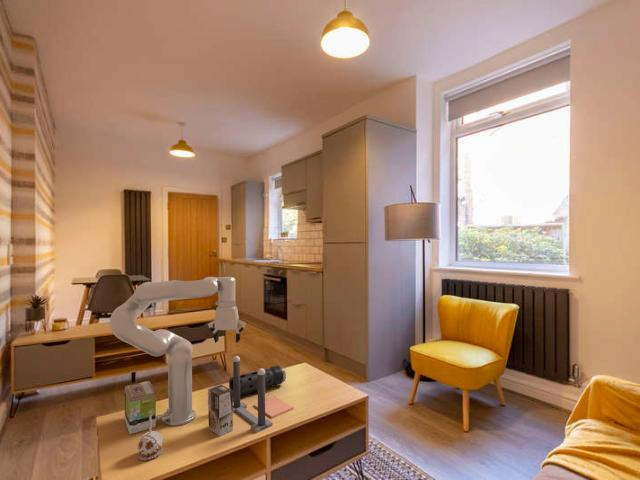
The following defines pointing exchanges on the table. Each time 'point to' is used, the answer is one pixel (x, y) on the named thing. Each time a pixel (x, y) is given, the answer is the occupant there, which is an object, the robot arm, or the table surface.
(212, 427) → the coffee box
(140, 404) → the tea box
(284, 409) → the terracotta tile
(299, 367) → the table surface
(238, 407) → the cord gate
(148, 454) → the decorative ornament
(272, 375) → the muzzle brake
